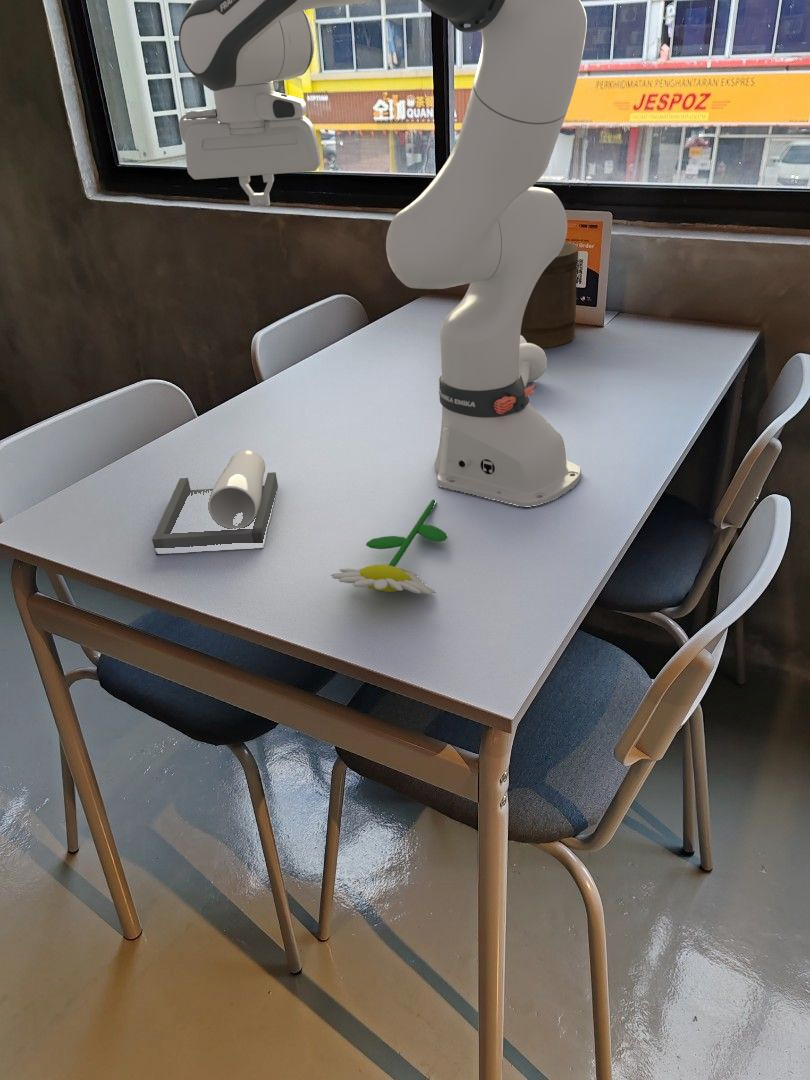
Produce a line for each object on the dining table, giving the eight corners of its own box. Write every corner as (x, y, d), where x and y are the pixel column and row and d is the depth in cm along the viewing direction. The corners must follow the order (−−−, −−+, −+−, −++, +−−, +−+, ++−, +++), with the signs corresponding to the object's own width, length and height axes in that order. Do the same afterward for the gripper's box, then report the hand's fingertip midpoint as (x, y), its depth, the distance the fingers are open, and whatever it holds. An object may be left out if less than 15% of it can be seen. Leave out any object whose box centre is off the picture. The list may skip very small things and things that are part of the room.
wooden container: (585, 330, 176) (591, 222, 164) (557, 352, 166) (561, 239, 154) (521, 322, 183) (523, 218, 172) (491, 343, 173) (490, 234, 161)
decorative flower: (390, 514, 120) (314, 615, 94) (391, 483, 118) (313, 577, 92) (476, 526, 117) (422, 634, 91) (479, 495, 115) (424, 596, 89)
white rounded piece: (544, 374, 156) (546, 328, 152) (547, 399, 146) (549, 350, 141) (485, 375, 158) (484, 329, 153) (483, 400, 148) (483, 352, 143)
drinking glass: (246, 492, 127) (231, 539, 113) (216, 460, 124) (196, 504, 111) (279, 467, 125) (268, 512, 112) (249, 434, 122) (233, 476, 109)
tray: (183, 492, 124) (179, 478, 123) (278, 486, 124) (275, 472, 123) (156, 555, 110) (152, 539, 109) (263, 548, 110) (260, 532, 108)
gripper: (171, 113, 119) (190, 214, 127) (312, 103, 119) (323, 205, 126) (180, 109, 125) (198, 206, 132) (315, 100, 124) (325, 197, 132)
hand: (260, 206), depth 129 cm, fingers closed
